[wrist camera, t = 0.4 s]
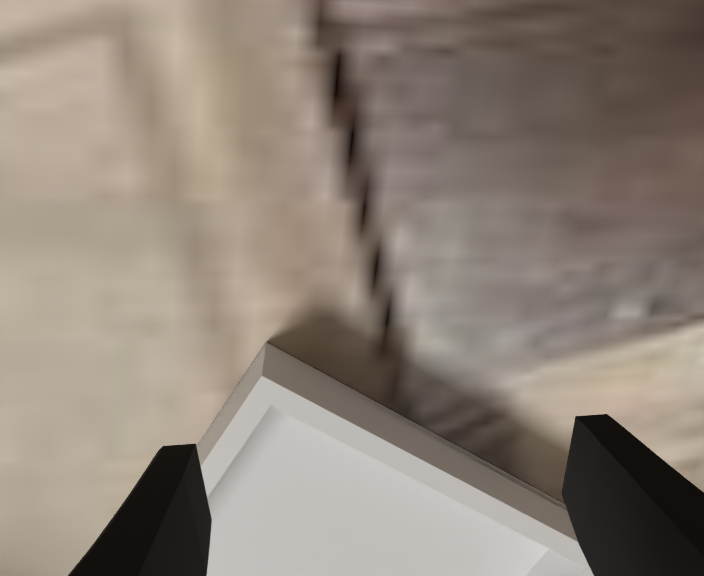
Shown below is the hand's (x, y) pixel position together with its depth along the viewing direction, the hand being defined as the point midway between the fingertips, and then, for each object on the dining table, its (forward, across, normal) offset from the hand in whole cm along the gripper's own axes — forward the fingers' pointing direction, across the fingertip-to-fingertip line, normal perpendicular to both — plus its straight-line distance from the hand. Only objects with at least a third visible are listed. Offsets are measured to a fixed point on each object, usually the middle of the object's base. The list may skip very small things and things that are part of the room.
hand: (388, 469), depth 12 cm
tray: (+8, +2, +15) cm, 17 cm away
